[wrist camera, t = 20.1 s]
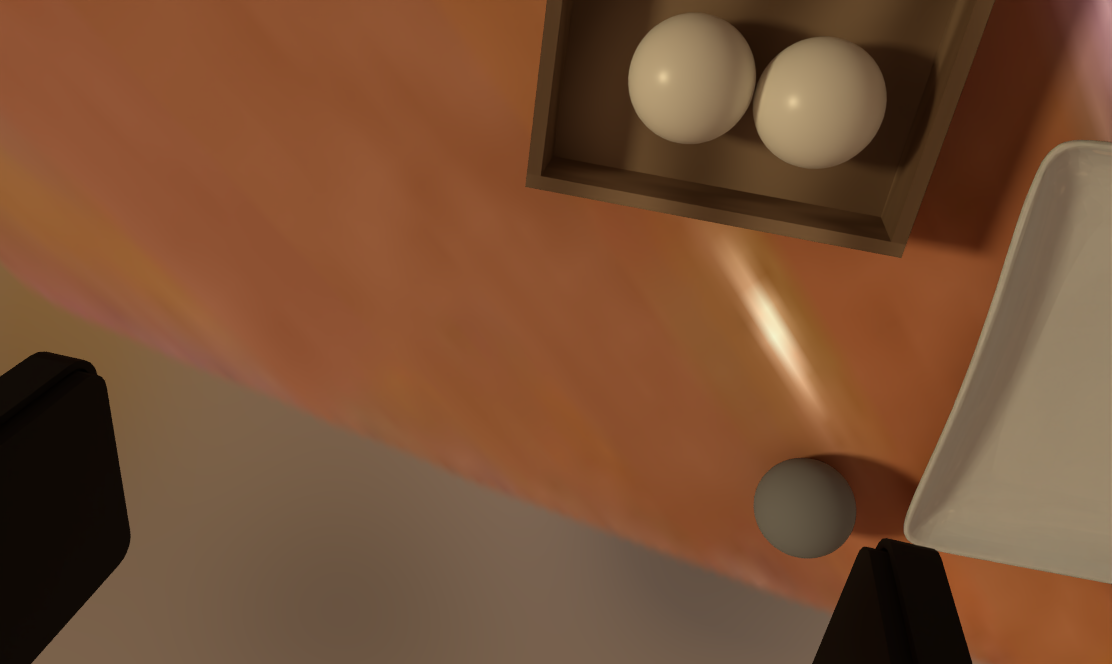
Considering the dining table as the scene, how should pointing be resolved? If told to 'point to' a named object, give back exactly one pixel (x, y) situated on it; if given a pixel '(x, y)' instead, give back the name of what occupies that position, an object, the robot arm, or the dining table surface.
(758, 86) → the cream ball
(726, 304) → the dining table surface
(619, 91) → the tray
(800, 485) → the grey ball
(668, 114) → the cream ball
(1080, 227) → the salad plate
